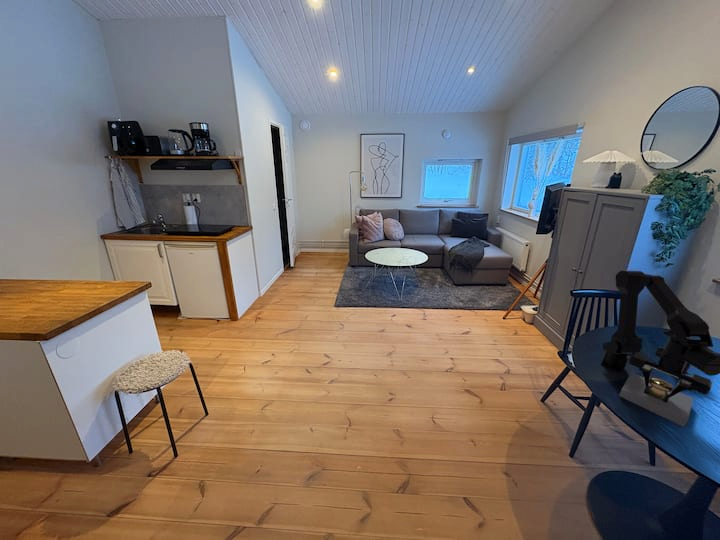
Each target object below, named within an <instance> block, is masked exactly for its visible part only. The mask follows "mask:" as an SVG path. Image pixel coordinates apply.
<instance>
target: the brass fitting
mask: <svg viewBox="0 0 720 540" xmlns="http://www.w3.org/2000/svg"><path fill="white" fill-rule="evenodd" d="M649 383H650V384H651V387H650V389H649V391H648V393H647V394H648V395H650V396H652V397H654V398H657V399H659V400H661V401H663V402H664V401H665V400H664V398H665V396H666V394H667V392H670V391H672V389H673V388H674V386H673V385H672V384H671V383H670V382H667V381H666V380H664V379H662V378H657V377H651V378H650V382H649Z"/></svg>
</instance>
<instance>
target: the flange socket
mask: <svg viewBox="0 0 720 540" xmlns="http://www.w3.org/2000/svg"><path fill="white" fill-rule="evenodd" d="M650 387H651V384H650V383H649V385H648V387H646V385H645V378H644V376H641V375H638V374H636V373H634V372H630V373H629V375H628V378H627V379H626V381H625V383H624V385H623V386H622V387H621V390H620V392H619V395H618V396H619V397H620V398H623V399H625V400H627V401H629V402H630V403H633V404H635V405H637V406H639V407H641V408H643V409H645V410H646V411H647V410H648V411H650V412H652V413H654V414H656V415H658V416H660V417H662V418H664V419H666V420H669V421H671V422H673V423H675V424H677V425H679V426H681V427H683V428H684V427H685V426H686V424H687V423H688V420H689V417H690V414H691V410H692V405H693V401H694V397H691V396H689V395H686V394H684V393H682V392H679V393H677V394H675V395H673V396H672V397H669V394H670V392H671V391H670V392H667V394H666V396H665V398H664V400H663V401H661V400H659V399H657V398H654V397H652V396H650V395H648V391H649V389H650Z"/></svg>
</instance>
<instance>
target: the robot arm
mask: <svg viewBox="0 0 720 540" xmlns="http://www.w3.org/2000/svg"><path fill="white" fill-rule="evenodd" d="M615 286H616V289H617V290H618V291H619V293H620V299H619V309H618V310H619V311H618V323H617V330H616V331H615V332H614V333H613V335H611V340H610V341H608V342H607V341H606V342H604V343H602V349H603V351H605V353H604V355H603V359H601V362H600V364H601V365H602V366H604V367H607V368H610V369H612V370H614V371H617V372H619V373H621V372H622V370H625V369H626V367H627V364H629V365H631V366H634V367H635V368H636V367H637V368H638V371H641V372H642V375H643V377H644V378H645V385H646V387H648V385H649V382H650V379H651V378H652V374H653V373H652V372H653V369H654V370H656V371H658V372H661V373H664V374H665V375H666V374H667V375H668V376H670V377H671V376H672V377H674V378H676V379H679V380H678V382H677V383H676V384H675V385H674V386H673V389H672V391H671V392H670V394H669V397H672V396H673V395H675V394H677V393H679V392H680V393H682V392H684V391H689V392H692V391H695V392H698V393H701V394H703V395H708V394H709V393H710V391H711V388H712V384H713V382H712V380H711V379H709V378H707V377H704V376H701V375H699V374H697V373H694V374H693V375H690V374H686V373H684V374H683V373H682V371H683V369H684V367H685V365H686V363H687V362H688V363H689V364H691V366H693V367H694V368H696V369H698V371H700V372H701V373H704V374H705V375H706V376H710V377H713V376H717V375H719V374H720V352H717V351H715V350H713V349H712V348H713V347H714V344H713V340H712V336H711V334H710V327H709V325H708V323H707V322H706V321H705V320H704V319H703V318H701V317H700V316H699V315H698V314H697V313H695V312H692V310H691V311H690V310H689V309H688V308H687V307H686V306H685V305H684V304H683V302H682V301H681V300H680V299H679V298H678V296H677V295H676V294H675V293H674V291H672V289H671V288H670V286H669V285H668V284H667V283H666V281H665V278H664V277H663V276H661V275H659V274H658V275H657V274H656V275H655V274H648V273H644V272H643V271H641V270H620V271H619V272H617V273H616V275H615ZM645 288H646V289H647V290H648V292H649V293H650V294H651V297H653V299H654V300H655V301H656V303H657V304H658V305H659V307H660V308H661V309H662V311H663V312H664V313H665V315H666V324H667V325H668V327H669V329H670V330H668V331H663V334H664V335H666V336H667V337H668V340H667V342H666V344H665V346H664V347H661V346H658V347H657V350H656V352H655V353H654V355H655V356H657V357H659V359H658V361H657V363H656V362H653V361H651V360H648V358H649V356H648V355H646V354H643V353H641V349H643V341H644V340H643V338H642V337H639V335H638V334H637V332H636V331H637V329H636V328H637V315H638V303H639V295H640V294H641V292H642V291H643V290H644V289H645ZM690 338H699V339H690ZM710 348H711V349H710ZM628 357H629V358H628Z"/></svg>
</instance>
